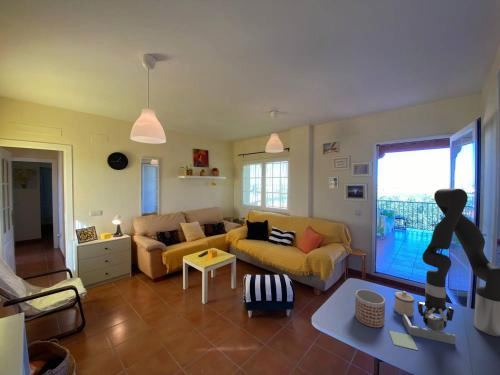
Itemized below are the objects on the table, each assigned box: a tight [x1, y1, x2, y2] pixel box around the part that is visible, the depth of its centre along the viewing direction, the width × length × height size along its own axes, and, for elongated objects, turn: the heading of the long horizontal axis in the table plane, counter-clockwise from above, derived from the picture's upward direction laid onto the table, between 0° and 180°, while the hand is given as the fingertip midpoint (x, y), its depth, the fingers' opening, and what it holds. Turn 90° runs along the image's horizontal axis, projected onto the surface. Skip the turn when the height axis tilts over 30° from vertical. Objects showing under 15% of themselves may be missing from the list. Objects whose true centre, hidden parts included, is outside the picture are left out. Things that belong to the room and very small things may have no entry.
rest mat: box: [388, 330, 419, 351], centre depth 97 cm, size 9×9×1 cm
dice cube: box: [424, 313, 445, 332], centre depth 103 cm, size 5×5×5 cm
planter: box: [354, 288, 386, 329], centre depth 112 cm, size 14×14×13 cm
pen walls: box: [402, 313, 457, 345], centre depth 103 cm, size 17×11×4 cm, turn 69°
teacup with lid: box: [394, 290, 416, 318], centre depth 119 cm, size 12×9×12 cm
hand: (434, 325), depth 103 cm, fingers closed on dice cube, 6 cm apart
